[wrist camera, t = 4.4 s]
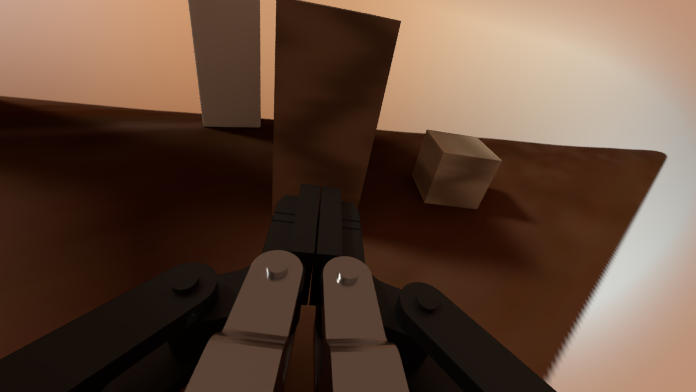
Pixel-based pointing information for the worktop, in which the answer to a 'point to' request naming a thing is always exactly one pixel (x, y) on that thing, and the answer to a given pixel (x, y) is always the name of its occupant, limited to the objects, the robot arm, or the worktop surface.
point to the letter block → (454, 169)
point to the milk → (227, 61)
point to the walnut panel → (327, 95)
